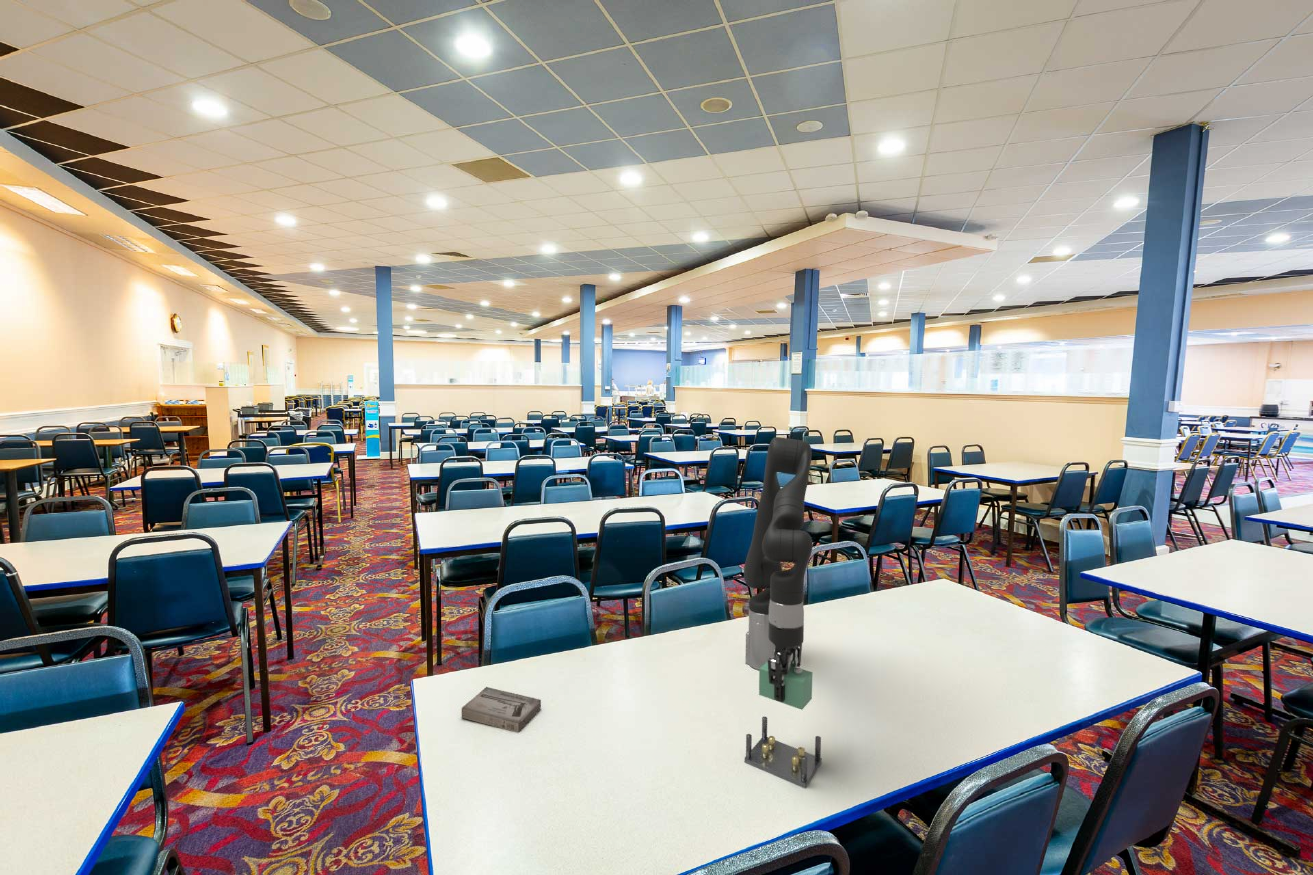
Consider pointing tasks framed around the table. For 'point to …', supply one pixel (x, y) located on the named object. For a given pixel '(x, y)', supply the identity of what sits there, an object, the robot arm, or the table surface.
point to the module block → (789, 686)
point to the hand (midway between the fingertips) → (785, 693)
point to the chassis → (783, 758)
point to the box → (501, 709)
